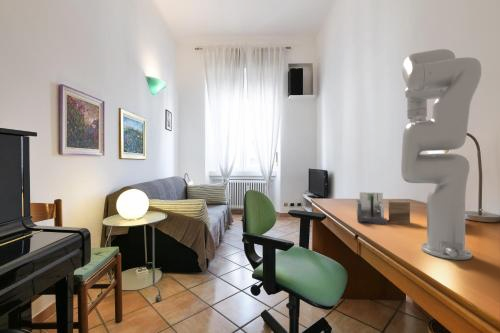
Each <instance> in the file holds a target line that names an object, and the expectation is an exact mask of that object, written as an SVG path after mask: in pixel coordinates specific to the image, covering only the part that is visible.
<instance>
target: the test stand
mask: <svg viewBox="0 0 500 333" xmlns="http://www.w3.org/2000/svg"><path fill="white" fill-rule="evenodd" d="M383 195H384V194H383V192H364V191H363V192H362V191H361V192H359V199H356V219H357V223H359V224H374V225H375V224H376V225H387V218H385V217H384V218H380V216H379V213H377V212H376V209H379V203H381V204H382V205H383V206H384V204H383V203H384V201H383V200H384V199H383V198H384V197H383ZM371 196H373V208H374V217H372V216H371Z"/></svg>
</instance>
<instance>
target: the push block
mask: <svg viewBox="0 0 500 333" xmlns="http://www.w3.org/2000/svg"><path fill="white" fill-rule="evenodd" d="M388 221H389V223H390V224H402V225H403V224H404V225H410V224H411V202H410V201H408V200H389V199H388Z"/></svg>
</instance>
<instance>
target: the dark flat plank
mask: <svg viewBox="0 0 500 333" xmlns="http://www.w3.org/2000/svg"><path fill="white" fill-rule="evenodd" d="M371 216H372V217H374V208H373V196H371Z"/></svg>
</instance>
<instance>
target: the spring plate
mask: <svg viewBox="0 0 500 333" xmlns="http://www.w3.org/2000/svg"><path fill="white" fill-rule="evenodd" d="M376 212H377V213H379V216H380V218H385V206H384V204H383V205H382V204H381V203H379V209H376Z"/></svg>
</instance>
